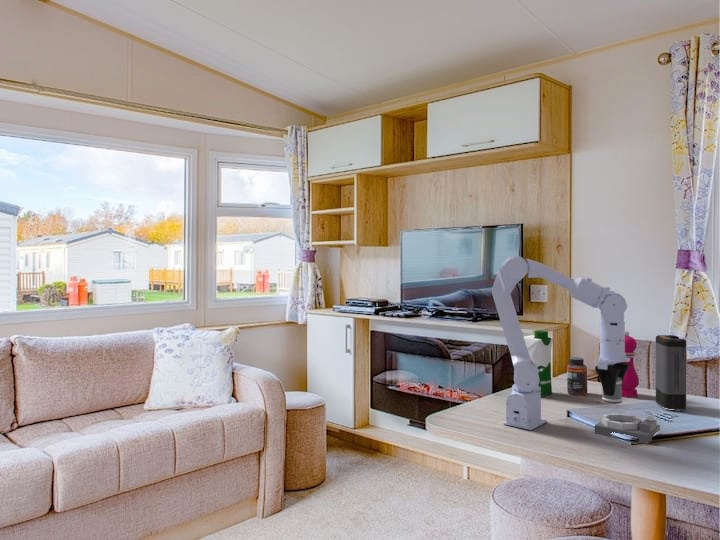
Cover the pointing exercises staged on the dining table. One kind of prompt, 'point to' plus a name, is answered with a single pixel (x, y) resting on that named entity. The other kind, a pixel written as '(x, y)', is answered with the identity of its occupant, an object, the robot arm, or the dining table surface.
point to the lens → (617, 395)
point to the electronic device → (671, 372)
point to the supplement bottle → (577, 377)
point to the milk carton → (541, 358)
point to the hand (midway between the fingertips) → (612, 393)
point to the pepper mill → (630, 369)
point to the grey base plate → (627, 426)
